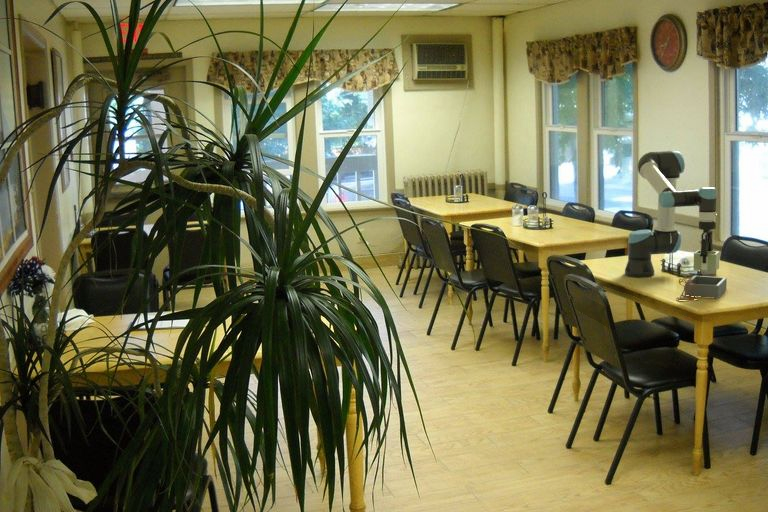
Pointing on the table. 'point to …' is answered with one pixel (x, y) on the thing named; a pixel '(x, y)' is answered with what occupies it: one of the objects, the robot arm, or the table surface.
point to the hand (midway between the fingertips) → (706, 268)
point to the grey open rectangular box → (707, 286)
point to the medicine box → (707, 272)
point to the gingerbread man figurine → (687, 289)
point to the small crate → (712, 260)
